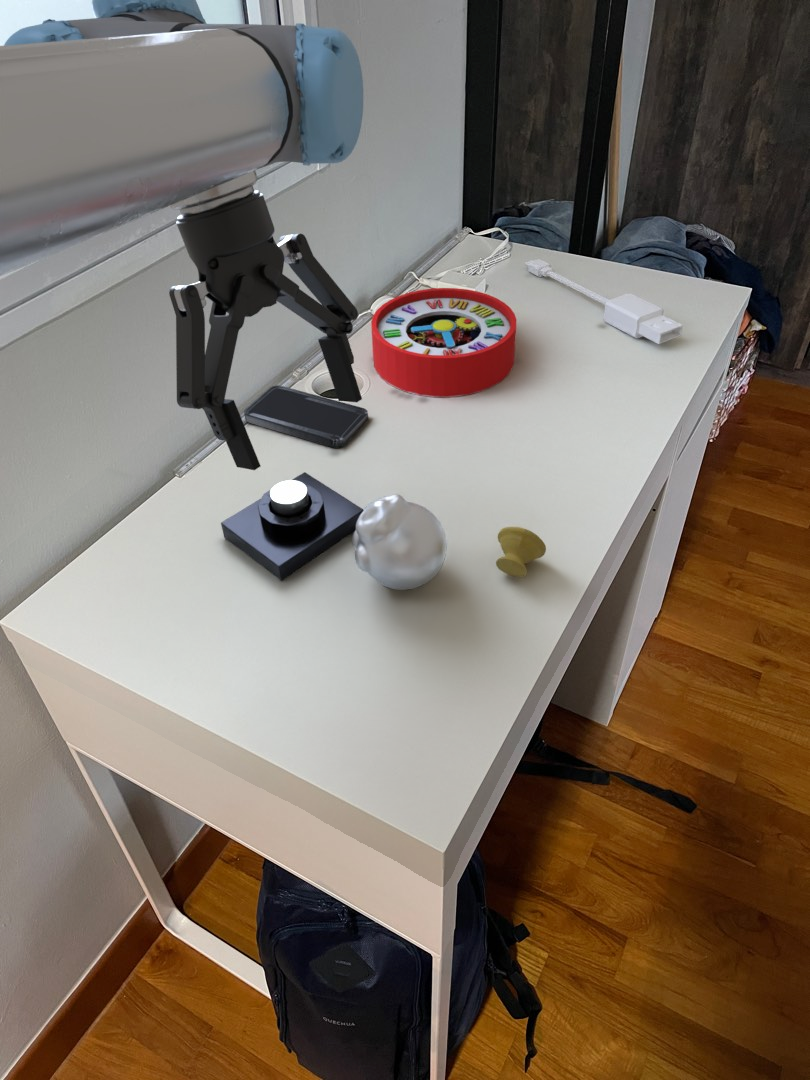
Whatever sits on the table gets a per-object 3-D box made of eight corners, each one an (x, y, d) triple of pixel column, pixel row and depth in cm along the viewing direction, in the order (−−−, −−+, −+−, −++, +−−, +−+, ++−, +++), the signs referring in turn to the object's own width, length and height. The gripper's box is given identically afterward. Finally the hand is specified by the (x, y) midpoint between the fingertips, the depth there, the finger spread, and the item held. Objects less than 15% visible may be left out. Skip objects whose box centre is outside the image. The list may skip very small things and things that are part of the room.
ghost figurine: (385, 535, 89) (380, 462, 83) (461, 564, 86) (463, 491, 79) (338, 587, 84) (329, 513, 77) (418, 621, 80) (415, 547, 73)
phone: (340, 442, 100) (240, 413, 106) (340, 450, 101) (241, 420, 106) (371, 409, 105) (274, 383, 111) (372, 417, 106) (275, 390, 111)
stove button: (288, 524, 86) (286, 509, 85) (264, 507, 88) (261, 492, 87) (317, 505, 88) (315, 490, 87) (293, 489, 90) (291, 475, 89)
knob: (501, 546, 88) (503, 510, 84) (547, 559, 86) (551, 524, 82) (484, 575, 84) (486, 539, 81) (532, 589, 83) (536, 553, 79)
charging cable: (540, 268, 139) (541, 249, 136) (681, 340, 117) (685, 318, 115) (516, 276, 137) (516, 256, 135) (655, 350, 115) (659, 328, 113)
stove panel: (281, 581, 85) (276, 553, 82) (223, 537, 90) (217, 510, 87) (365, 524, 91) (363, 496, 88) (306, 486, 96) (302, 459, 93)
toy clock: (497, 281, 121) (533, 349, 106) (496, 318, 125) (530, 388, 110) (363, 295, 119) (380, 365, 104) (365, 331, 123) (383, 404, 108)
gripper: (296, 164, 77) (362, 374, 87) (64, 256, 63) (176, 492, 73) (350, 152, 71) (413, 377, 82) (111, 249, 58) (224, 504, 68)
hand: (302, 432), depth 78 cm, fingers open, 13 cm apart
